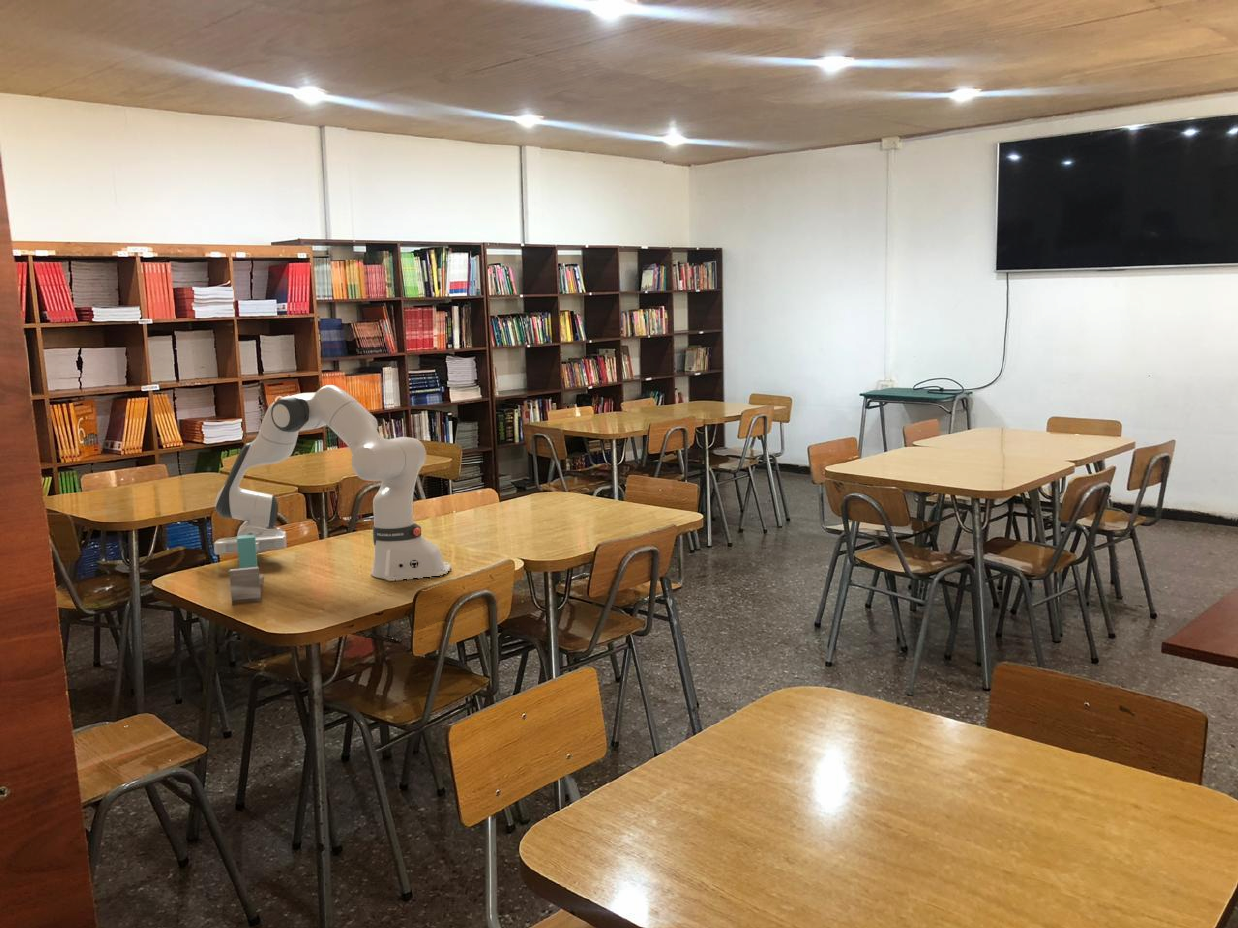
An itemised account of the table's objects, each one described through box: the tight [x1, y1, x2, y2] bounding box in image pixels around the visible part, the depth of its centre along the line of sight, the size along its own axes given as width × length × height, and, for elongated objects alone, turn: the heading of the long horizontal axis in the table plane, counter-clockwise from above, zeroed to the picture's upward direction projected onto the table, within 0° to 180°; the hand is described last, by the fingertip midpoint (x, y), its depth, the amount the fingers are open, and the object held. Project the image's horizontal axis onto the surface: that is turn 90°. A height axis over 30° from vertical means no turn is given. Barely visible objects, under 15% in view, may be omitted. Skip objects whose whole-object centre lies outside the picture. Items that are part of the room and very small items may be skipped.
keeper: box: [236, 534, 259, 569], centre depth 265 cm, size 4×4×12 cm
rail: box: [228, 566, 265, 606], centre depth 258 cm, size 26×7×9 cm, turn 19°
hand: (249, 549), depth 276 cm, fingers closed
